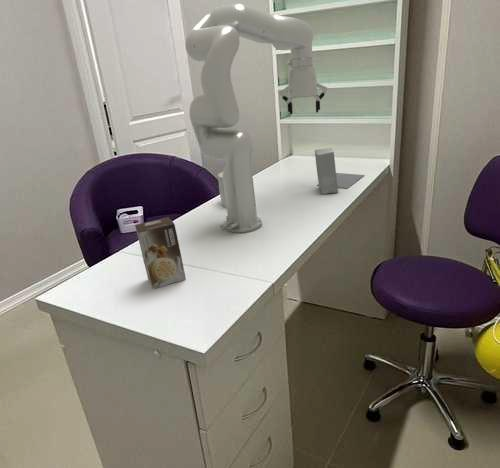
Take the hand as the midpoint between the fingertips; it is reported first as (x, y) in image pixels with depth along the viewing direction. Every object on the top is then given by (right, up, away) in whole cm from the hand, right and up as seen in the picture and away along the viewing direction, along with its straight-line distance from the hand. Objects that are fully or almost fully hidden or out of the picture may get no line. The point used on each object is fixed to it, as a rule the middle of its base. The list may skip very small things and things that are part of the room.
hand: (304, 113), depth 158 cm
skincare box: (+10, -28, +7) cm, 31 cm away
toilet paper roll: (-25, -33, +5) cm, 42 cm away
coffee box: (-42, -57, -45) cm, 85 cm away
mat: (+17, -23, +17) cm, 33 cm away
